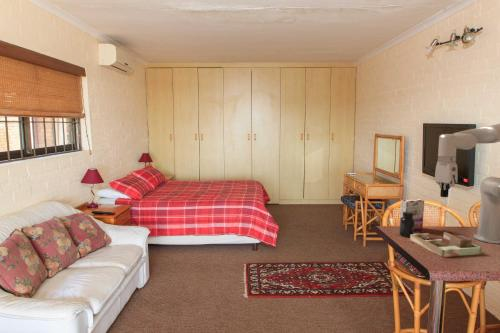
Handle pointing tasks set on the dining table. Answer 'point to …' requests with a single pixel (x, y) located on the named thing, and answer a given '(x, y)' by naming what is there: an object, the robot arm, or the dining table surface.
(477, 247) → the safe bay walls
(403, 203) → the candy bar box
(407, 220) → the supplement bottle
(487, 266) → the dining table surface
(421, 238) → the lane box
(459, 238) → the tan wooden block
